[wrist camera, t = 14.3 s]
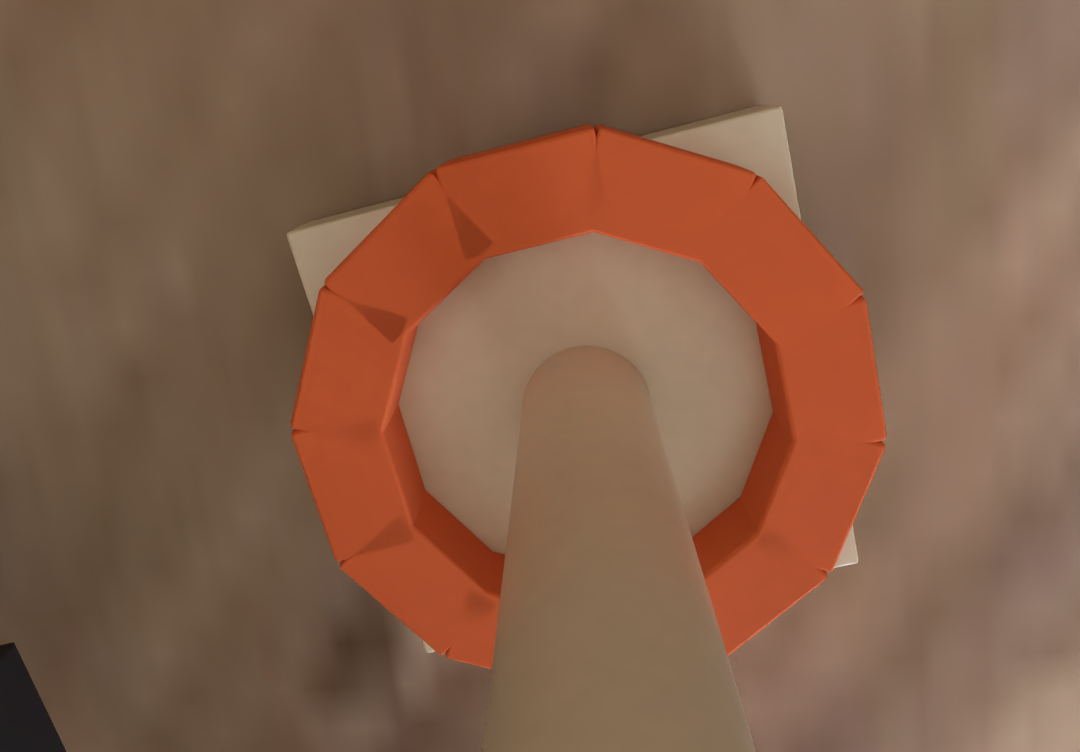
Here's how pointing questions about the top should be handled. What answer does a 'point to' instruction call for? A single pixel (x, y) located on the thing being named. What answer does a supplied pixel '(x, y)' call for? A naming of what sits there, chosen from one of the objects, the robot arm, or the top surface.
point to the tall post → (593, 462)
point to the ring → (547, 216)
